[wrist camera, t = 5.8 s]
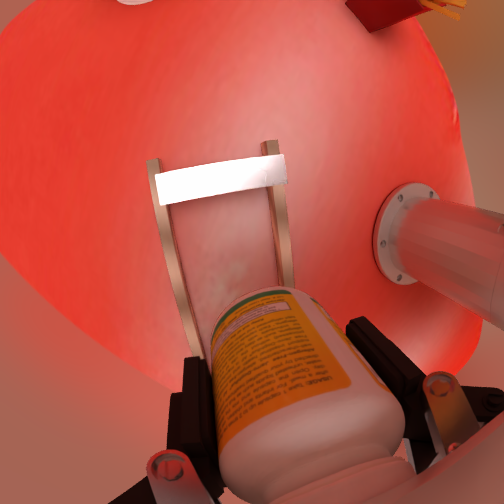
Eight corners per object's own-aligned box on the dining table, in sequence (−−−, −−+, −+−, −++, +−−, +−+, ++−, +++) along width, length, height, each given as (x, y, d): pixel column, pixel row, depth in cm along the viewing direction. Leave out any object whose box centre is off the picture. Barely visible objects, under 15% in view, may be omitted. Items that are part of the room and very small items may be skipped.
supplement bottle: (342, 301, 12) (486, 451, 3) (293, 385, 13) (362, 541, 4) (234, 264, 11) (324, 523, 2) (194, 365, 12) (204, 567, 3)
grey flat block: (166, 175, 23) (154, 174, 16) (259, 159, 24) (283, 154, 17) (170, 197, 23) (160, 205, 17) (262, 181, 24) (287, 183, 18)
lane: (150, 162, 22) (135, 157, 16) (271, 142, 24) (293, 133, 18) (206, 385, 29) (210, 422, 24) (295, 364, 31) (313, 397, 25)
